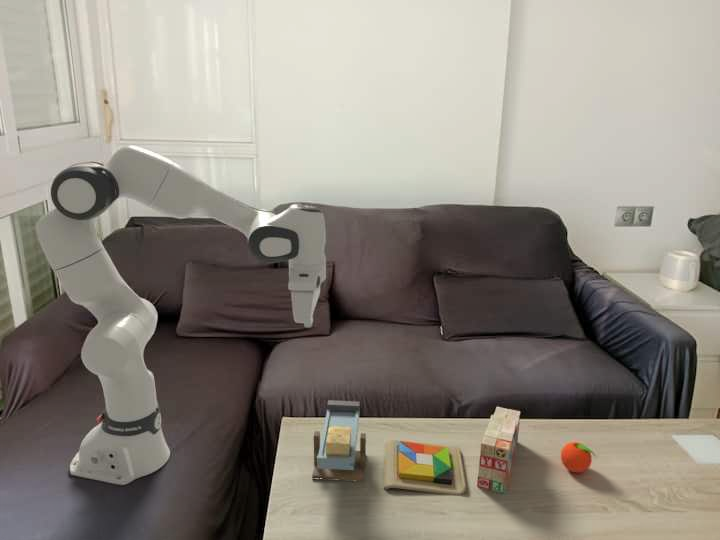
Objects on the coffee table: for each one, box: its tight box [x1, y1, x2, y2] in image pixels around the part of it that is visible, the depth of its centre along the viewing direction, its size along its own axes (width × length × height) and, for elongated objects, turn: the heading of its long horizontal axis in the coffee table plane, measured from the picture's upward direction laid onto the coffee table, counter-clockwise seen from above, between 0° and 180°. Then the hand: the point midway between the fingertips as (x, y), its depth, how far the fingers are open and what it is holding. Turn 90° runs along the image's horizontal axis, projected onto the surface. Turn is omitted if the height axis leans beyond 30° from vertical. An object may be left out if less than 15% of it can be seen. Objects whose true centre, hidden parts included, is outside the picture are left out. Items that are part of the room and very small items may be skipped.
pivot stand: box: [311, 430, 367, 482], centre depth 136 cm, size 10×12×9 cm
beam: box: [317, 399, 361, 470], centre depth 134 cm, size 22×8×3 cm, turn 177°
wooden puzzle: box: [382, 439, 467, 496], centre depth 137 cm, size 18×19×4 cm
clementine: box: [560, 441, 597, 473], centre depth 136 cm, size 8×7×7 cm
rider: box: [326, 426, 351, 457], centre depth 126 cm, size 6×5×5 cm
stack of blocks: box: [476, 406, 521, 495], centre depth 137 cm, size 21×6×12 cm, turn 157°
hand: (308, 324), depth 140 cm, fingers closed
